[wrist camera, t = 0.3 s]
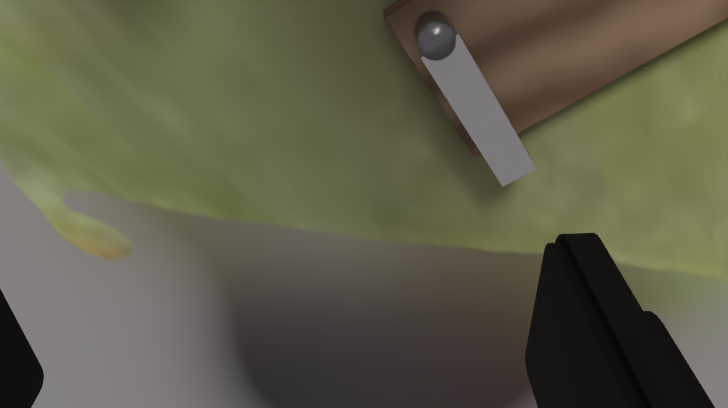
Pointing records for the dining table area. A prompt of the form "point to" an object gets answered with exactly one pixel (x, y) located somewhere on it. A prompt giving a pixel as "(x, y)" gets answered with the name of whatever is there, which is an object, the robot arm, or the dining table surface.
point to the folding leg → (471, 97)
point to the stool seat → (553, 45)
